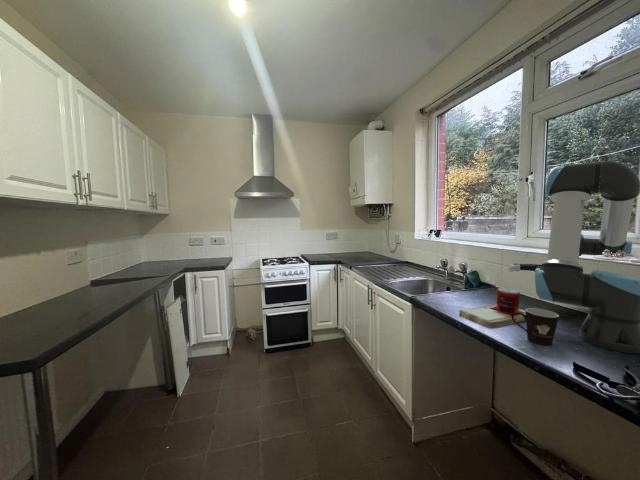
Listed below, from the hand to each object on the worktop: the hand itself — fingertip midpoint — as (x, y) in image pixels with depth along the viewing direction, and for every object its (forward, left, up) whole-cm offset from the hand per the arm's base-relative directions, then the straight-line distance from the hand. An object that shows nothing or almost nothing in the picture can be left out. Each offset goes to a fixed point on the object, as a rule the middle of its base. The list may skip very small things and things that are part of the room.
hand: (525, 271), depth 115 cm
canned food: (0, +10, -18) cm, 21 cm away
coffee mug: (-19, +24, -18) cm, 36 cm away
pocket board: (0, +16, -18) cm, 24 cm away
